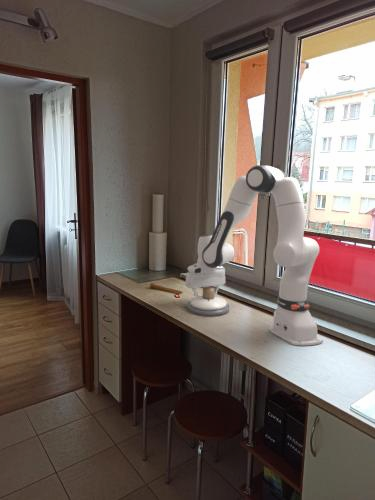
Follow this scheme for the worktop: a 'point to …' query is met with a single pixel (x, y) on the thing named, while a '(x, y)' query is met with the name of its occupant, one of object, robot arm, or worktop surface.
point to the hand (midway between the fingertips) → (205, 295)
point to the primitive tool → (165, 289)
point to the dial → (208, 300)
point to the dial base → (208, 311)
